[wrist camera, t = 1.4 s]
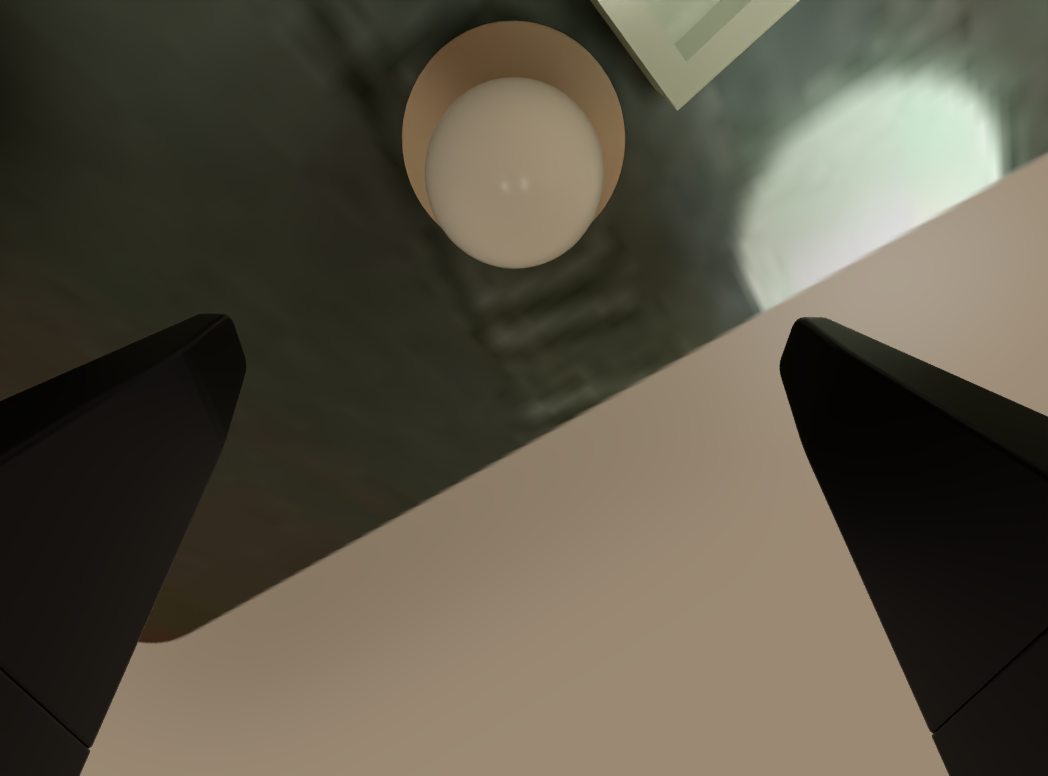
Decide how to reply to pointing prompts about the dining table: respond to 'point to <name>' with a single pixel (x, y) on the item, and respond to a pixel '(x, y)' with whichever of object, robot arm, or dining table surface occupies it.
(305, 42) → the dining table surface
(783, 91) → the dining table surface
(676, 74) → the egg tray
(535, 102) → the white egg
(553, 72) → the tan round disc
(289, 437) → the dining table surface
